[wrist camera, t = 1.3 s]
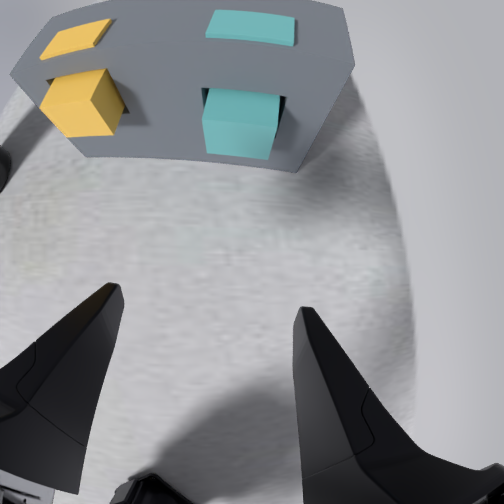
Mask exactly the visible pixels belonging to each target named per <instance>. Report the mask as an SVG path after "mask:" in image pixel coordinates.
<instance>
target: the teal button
mask: <svg viewBox="0 0 504 504" xmlns="http://www.w3.org/2000/svg"><path fill="white" fill-rule="evenodd" d="M279 101H280V95H273V94H266V93H259V92H251V91H242V90H231V89H219V88H210V89H209V93H208V96H207V100H206V104H205V108H204V112H203V116H202V124H203V131H204V137H205V144H206V150H207V153H210V154H220V155H230V156H239V157H248V158H256V159H263V160H268V158H269V155H270V151H271V148H272V144H273V141H274V137H275V134H276V130H277V125H278V113H279Z"/></svg>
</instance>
